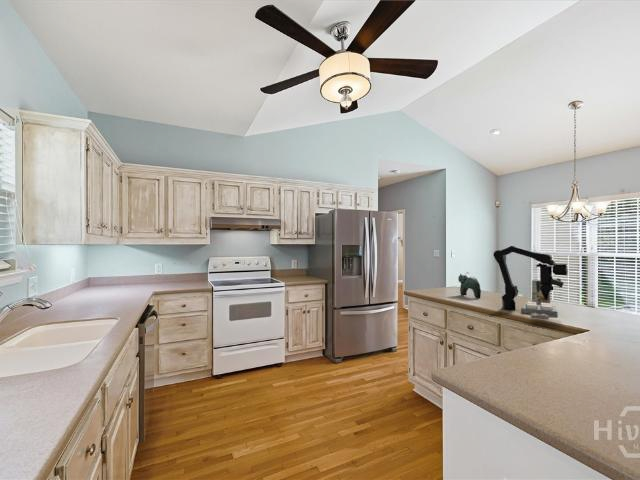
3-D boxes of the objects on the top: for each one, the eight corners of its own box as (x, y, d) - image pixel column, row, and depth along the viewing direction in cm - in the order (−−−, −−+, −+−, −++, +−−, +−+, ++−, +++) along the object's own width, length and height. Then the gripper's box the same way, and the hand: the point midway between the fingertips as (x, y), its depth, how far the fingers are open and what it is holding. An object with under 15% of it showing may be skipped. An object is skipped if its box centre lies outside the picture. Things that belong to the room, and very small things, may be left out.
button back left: (526, 306, 194) (526, 302, 194) (526, 305, 198) (526, 301, 198) (536, 307, 191) (536, 303, 191) (536, 305, 195) (536, 302, 195)
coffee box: (537, 304, 214) (536, 281, 214) (531, 302, 220) (531, 280, 220) (551, 304, 213) (550, 281, 213) (545, 302, 219) (544, 280, 219)
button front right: (541, 310, 184) (541, 306, 184) (541, 308, 188) (541, 304, 188) (552, 311, 181) (551, 307, 181) (551, 309, 185) (551, 305, 185)
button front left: (526, 308, 188) (526, 304, 188) (526, 307, 192) (526, 303, 192) (536, 309, 185) (536, 305, 185) (536, 308, 189) (536, 304, 189)
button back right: (541, 307, 190) (541, 304, 190) (541, 306, 194) (540, 302, 194) (551, 308, 187) (551, 304, 187) (550, 307, 191) (550, 303, 191)
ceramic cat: (457, 295, 253) (457, 271, 253) (464, 294, 255) (463, 271, 255) (476, 299, 234) (476, 273, 234) (483, 298, 236) (482, 273, 236)
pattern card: (531, 317, 177) (531, 314, 177) (531, 314, 184) (531, 312, 184) (548, 318, 173) (548, 316, 173) (547, 316, 179) (547, 313, 179)
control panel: (522, 313, 187) (522, 308, 187) (522, 307, 202) (522, 303, 202) (557, 316, 177) (557, 311, 177) (555, 311, 192) (555, 306, 192)
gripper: (564, 276, 172) (564, 303, 172) (561, 273, 188) (561, 298, 188) (540, 275, 179) (540, 301, 179) (539, 272, 194) (539, 296, 194)
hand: (546, 299), depth 184 cm, fingers closed
